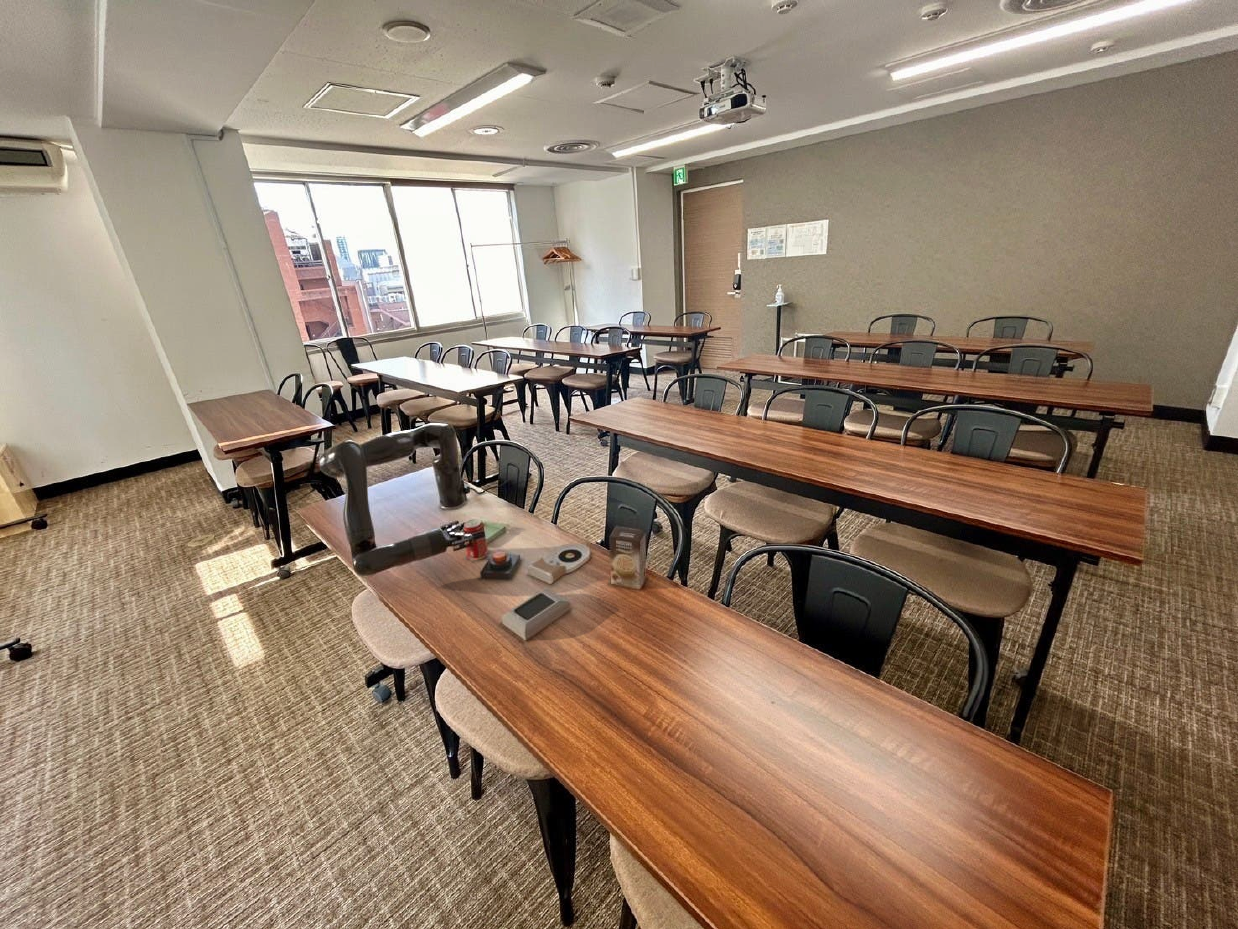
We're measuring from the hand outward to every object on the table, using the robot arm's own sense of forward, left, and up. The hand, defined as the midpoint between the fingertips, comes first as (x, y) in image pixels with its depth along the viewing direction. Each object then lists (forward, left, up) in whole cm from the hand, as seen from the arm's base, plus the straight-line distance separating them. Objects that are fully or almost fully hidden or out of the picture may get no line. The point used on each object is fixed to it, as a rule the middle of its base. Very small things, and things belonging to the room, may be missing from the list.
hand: (479, 527), depth 152 cm
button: (+5, +11, -6) cm, 13 cm away
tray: (-8, -10, -10) cm, 16 cm away
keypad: (+18, +34, -10) cm, 40 cm away
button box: (+5, +11, -10) cm, 15 cm away
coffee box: (-6, +49, -10) cm, 51 cm away
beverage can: (+2, -1, -10) cm, 10 cm away
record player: (-6, +27, -10) cm, 29 cm away
